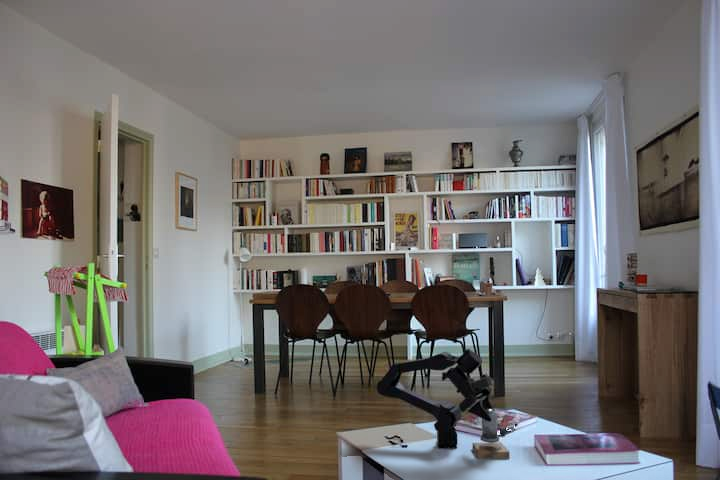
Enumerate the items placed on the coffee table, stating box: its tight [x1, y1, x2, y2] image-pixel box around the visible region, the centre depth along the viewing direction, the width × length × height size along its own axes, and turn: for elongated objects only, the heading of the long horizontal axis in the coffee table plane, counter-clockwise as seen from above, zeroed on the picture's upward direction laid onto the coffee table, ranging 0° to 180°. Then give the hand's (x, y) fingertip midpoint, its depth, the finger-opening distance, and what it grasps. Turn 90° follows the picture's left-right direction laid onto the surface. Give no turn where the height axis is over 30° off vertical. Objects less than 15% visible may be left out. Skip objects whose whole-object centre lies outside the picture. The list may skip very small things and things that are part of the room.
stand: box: [472, 441, 510, 460], centre depth 186 cm, size 10×10×2 cm
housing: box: [479, 409, 500, 443], centre depth 187 cm, size 6×6×10 cm
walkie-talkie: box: [497, 417, 515, 437], centre depth 214 cm, size 9×4×20 cm
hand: (493, 418), depth 186 cm, fingers closed on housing, 5 cm apart
